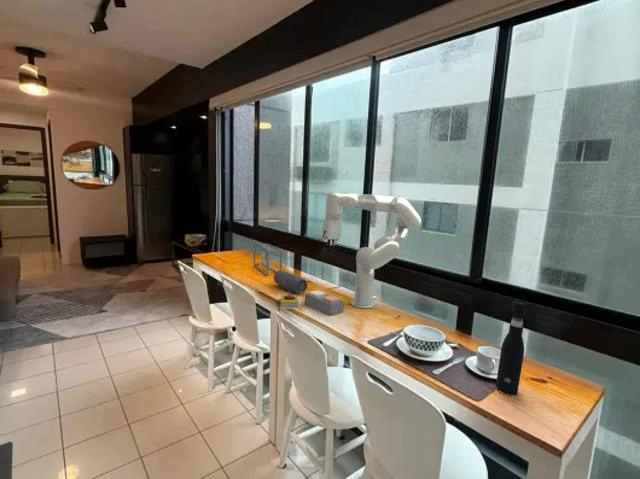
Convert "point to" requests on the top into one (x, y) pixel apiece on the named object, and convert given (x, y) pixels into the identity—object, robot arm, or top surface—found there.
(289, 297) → the emergency button
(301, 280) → the bluetooth speaker
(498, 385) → the black water bottle
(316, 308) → the key box
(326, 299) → the key terracotta
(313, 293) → the key white
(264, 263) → the newton's cradle
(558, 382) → the top surface
